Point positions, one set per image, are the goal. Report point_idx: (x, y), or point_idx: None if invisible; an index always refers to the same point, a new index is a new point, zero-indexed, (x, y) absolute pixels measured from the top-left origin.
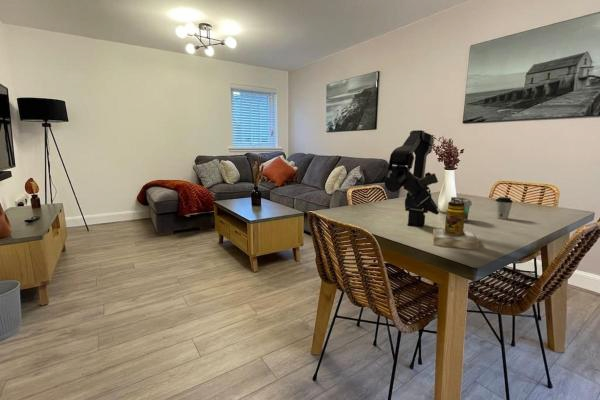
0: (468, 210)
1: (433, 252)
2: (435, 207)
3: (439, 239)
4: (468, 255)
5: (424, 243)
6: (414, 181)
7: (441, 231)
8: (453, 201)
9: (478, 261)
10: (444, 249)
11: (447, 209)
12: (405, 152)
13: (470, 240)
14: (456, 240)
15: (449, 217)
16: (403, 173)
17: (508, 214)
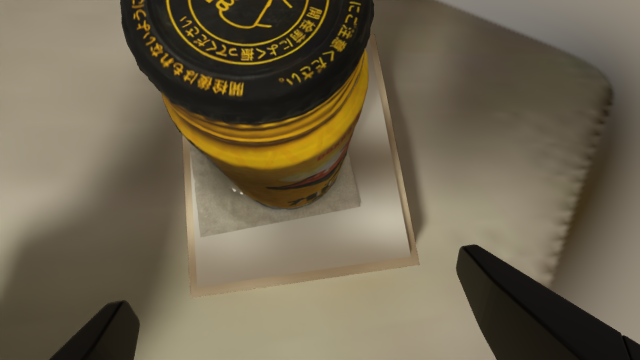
0: None
1: (535, 246)
2: (565, 301)
3: (411, 230)
4: (475, 94)
5: (409, 315)
6: None
7: (263, 233)
8: (163, 32)
9: (528, 58)
10: (452, 199)
11: (294, 154)
12: None
13: (373, 68)
14: (393, 137)
15: (342, 149)
16: None
17: None
